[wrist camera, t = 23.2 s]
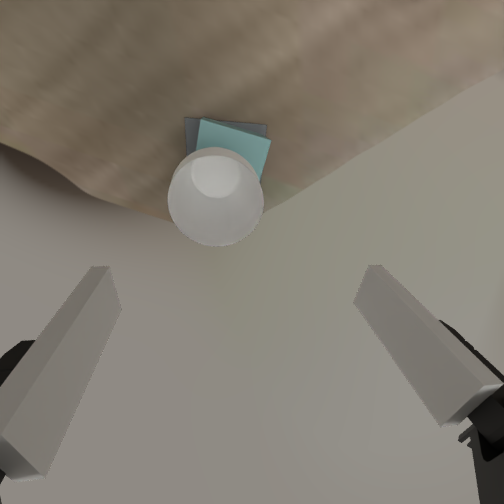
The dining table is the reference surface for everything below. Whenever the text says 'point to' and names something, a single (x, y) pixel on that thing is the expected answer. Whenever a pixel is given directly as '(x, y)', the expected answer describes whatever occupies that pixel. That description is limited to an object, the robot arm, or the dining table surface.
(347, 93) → the dining table surface
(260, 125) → the base mat
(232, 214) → the cup
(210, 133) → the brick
